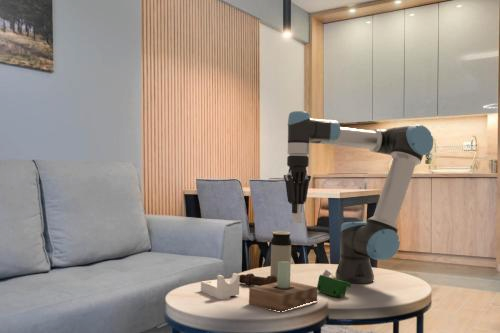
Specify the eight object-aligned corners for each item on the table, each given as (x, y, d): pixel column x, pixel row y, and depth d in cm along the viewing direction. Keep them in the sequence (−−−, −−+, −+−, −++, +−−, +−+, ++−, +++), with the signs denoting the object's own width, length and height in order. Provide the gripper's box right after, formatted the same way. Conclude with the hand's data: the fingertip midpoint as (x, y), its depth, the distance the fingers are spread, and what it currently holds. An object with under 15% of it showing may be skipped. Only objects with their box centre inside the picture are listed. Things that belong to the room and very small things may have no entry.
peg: (282, 298, 155) (283, 260, 155) (292, 300, 152) (293, 262, 152) (274, 300, 152) (275, 261, 152) (284, 302, 149) (284, 263, 149)
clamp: (343, 309, 164) (355, 286, 162) (330, 306, 161) (342, 283, 160) (326, 288, 175) (338, 267, 173) (313, 285, 172) (325, 264, 170)
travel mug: (290, 279, 189) (292, 233, 190) (270, 278, 189) (271, 233, 190) (289, 275, 197) (290, 231, 198) (270, 274, 197) (271, 231, 198)
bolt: (241, 288, 180) (274, 293, 171) (234, 283, 177) (267, 288, 167) (246, 273, 182) (279, 278, 173) (239, 268, 179) (272, 272, 170)
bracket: (239, 297, 159) (239, 274, 159) (220, 300, 155) (221, 276, 155) (218, 289, 170) (218, 268, 170) (200, 291, 166) (201, 269, 166)
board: (285, 295, 163) (286, 280, 163) (317, 302, 154) (317, 287, 154) (248, 304, 150) (249, 288, 150) (280, 313, 141) (281, 295, 141)
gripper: (300, 156, 176) (299, 221, 176) (277, 154, 167) (276, 222, 166) (317, 156, 171) (316, 222, 171) (294, 154, 162) (293, 224, 161)
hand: (296, 222), depth 168 cm, fingers closed
